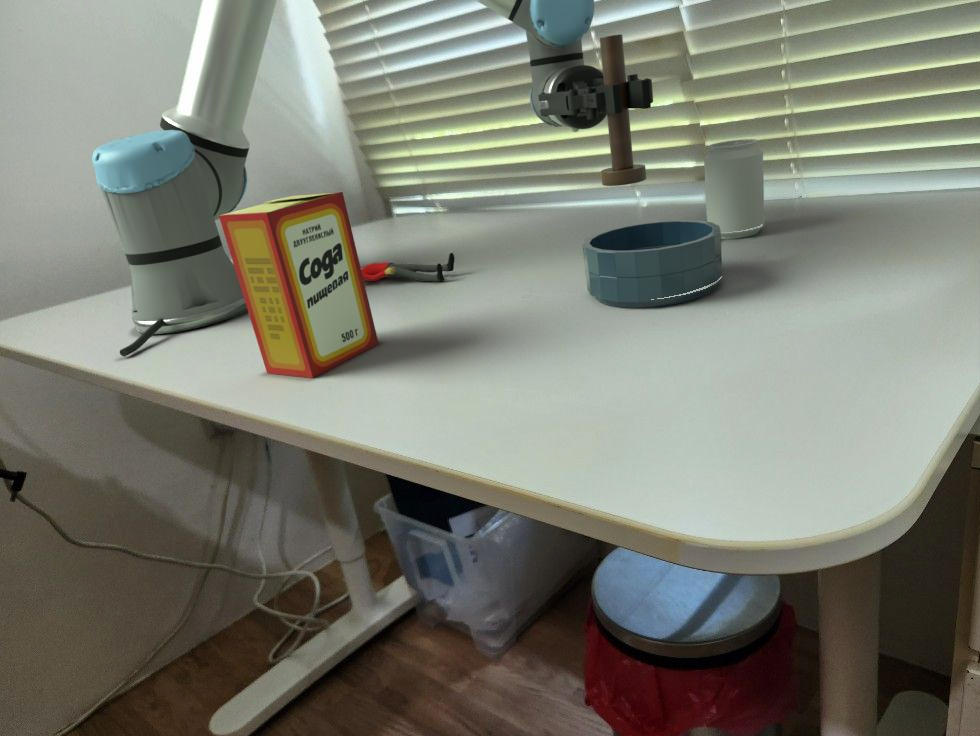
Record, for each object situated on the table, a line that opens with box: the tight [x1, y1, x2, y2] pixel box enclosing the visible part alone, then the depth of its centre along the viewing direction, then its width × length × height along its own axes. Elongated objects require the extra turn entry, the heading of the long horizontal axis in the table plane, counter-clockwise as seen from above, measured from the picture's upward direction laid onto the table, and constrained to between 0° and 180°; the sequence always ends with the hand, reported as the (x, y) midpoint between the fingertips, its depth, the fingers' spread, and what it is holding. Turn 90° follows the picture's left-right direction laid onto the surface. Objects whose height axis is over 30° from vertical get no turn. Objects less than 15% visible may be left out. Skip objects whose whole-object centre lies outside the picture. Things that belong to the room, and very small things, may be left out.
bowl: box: [581, 219, 724, 309], centre depth 82 cm, size 15×15×6 cm
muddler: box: [599, 34, 647, 187], centre depth 82 cm, size 5×5×15 cm
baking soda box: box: [219, 191, 380, 379], centre depth 73 cm, size 10×6×16 cm
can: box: [703, 138, 765, 240], centre depth 100 cm, size 8×8×12 cm
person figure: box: [361, 252, 455, 283], centre depth 104 cm, size 5×4×18 cm
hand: (631, 96), depth 76 cm, fingers closed on muddler, 2 cm apart
